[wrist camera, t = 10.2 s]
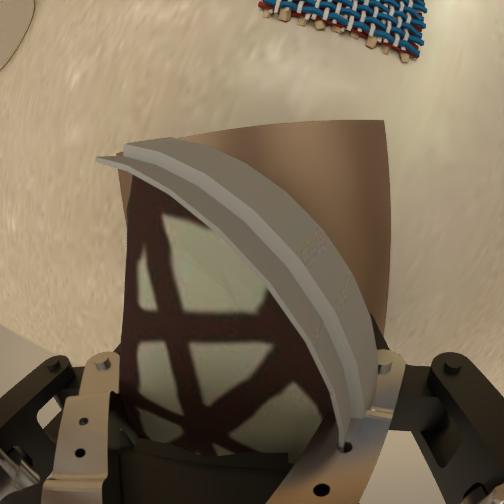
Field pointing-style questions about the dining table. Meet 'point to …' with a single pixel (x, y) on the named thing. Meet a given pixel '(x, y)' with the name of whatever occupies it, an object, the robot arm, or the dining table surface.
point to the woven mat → (361, 20)
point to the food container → (234, 309)
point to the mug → (13, 25)
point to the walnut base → (324, 187)
